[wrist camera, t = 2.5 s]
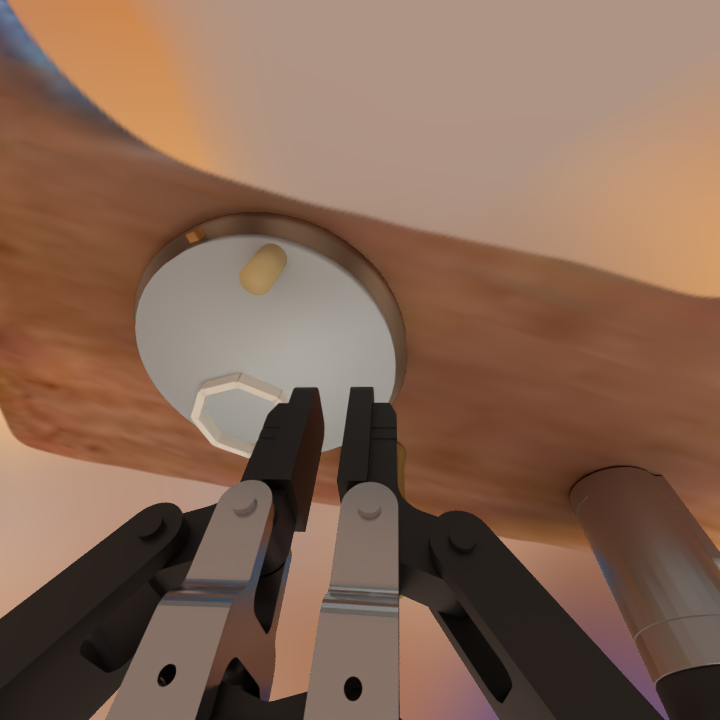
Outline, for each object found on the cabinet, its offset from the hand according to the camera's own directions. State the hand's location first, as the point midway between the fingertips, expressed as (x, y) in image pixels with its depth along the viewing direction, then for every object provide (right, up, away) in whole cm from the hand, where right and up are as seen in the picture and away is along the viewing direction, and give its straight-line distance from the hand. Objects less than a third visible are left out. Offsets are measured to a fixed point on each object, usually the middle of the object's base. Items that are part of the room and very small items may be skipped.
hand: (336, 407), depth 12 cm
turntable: (-7, +2, +20) cm, 21 cm away
